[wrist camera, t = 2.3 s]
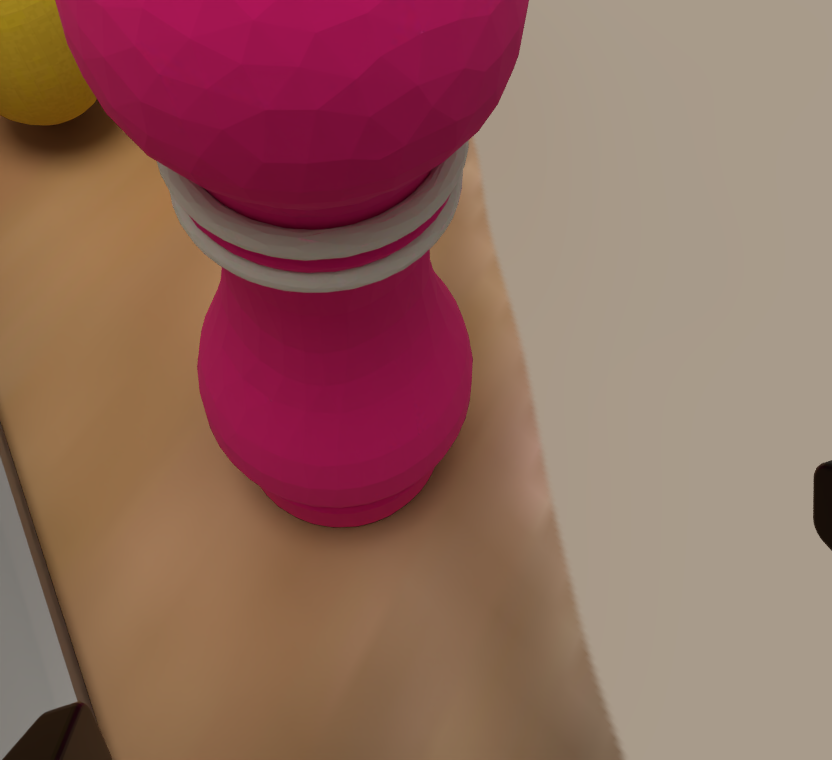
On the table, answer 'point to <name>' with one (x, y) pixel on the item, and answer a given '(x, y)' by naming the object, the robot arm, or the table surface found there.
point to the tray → (29, 621)
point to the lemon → (38, 66)
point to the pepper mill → (314, 218)
